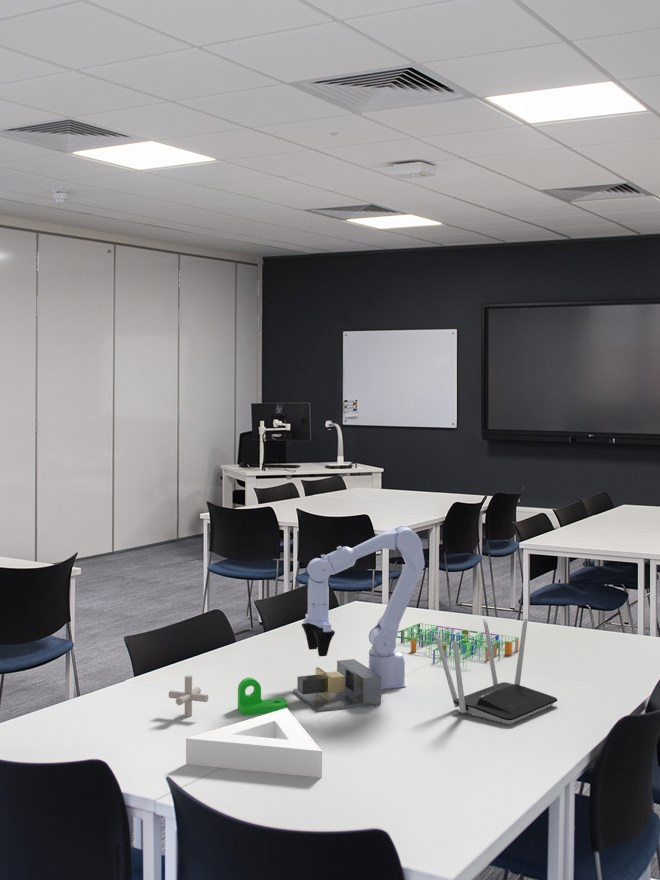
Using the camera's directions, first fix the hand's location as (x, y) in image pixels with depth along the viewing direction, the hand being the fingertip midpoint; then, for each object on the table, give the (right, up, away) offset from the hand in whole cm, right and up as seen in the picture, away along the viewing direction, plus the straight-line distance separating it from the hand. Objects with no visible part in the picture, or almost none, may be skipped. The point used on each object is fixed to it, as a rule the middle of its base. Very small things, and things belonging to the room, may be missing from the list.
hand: (317, 652), depth 272 cm
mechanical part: (-13, -11, -21) cm, 27 cm away
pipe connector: (-32, -10, -26) cm, 42 cm away
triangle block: (-15, -12, -55) cm, 58 cm away
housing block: (+5, -10, -10) cm, 15 cm away
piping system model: (+40, -9, +39) cm, 57 cm away
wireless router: (+46, -11, -16) cm, 50 cm away
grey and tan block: (+1, -8, -12) cm, 15 cm away
